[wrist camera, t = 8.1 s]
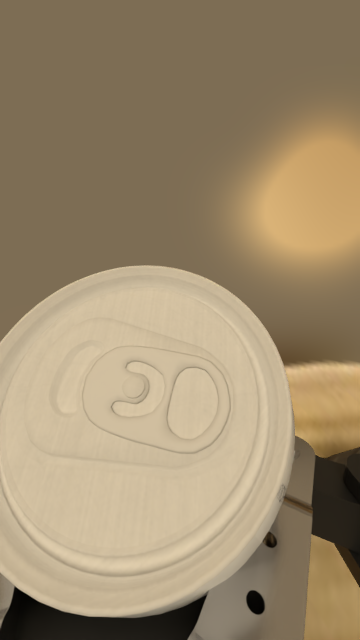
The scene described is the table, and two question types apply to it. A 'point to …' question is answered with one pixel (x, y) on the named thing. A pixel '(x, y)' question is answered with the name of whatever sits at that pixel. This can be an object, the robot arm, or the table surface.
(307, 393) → the table surface
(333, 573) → the table surface
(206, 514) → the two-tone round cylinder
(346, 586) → the table surface
